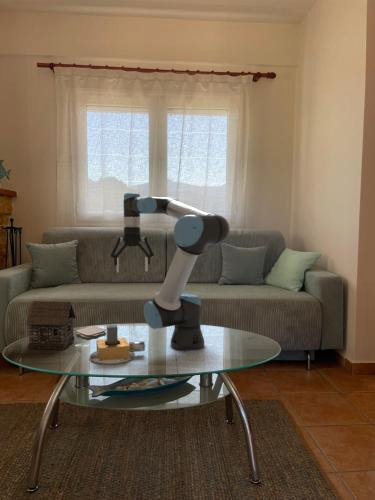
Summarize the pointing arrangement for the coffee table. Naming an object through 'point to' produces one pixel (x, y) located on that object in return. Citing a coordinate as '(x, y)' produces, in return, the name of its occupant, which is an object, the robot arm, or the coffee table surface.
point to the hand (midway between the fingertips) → (132, 271)
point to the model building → (50, 325)
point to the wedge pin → (112, 335)
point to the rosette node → (116, 352)
